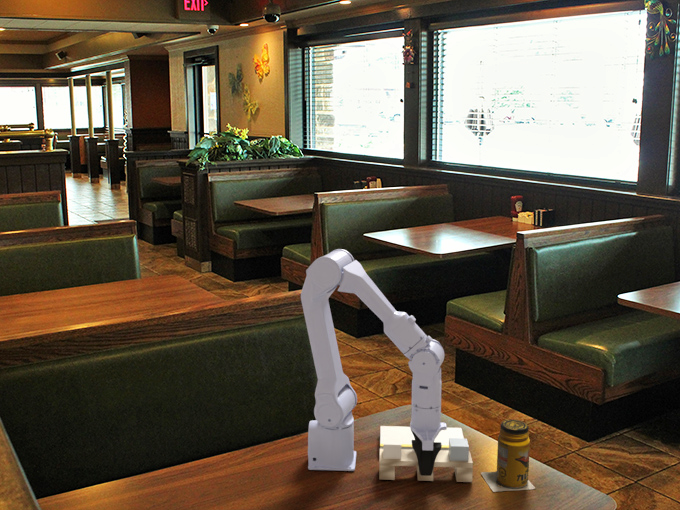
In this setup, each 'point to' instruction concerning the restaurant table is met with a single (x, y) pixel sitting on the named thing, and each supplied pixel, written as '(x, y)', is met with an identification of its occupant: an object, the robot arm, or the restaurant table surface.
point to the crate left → (392, 448)
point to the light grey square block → (458, 449)
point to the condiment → (511, 458)
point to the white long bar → (410, 459)
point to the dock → (408, 437)
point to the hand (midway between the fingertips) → (424, 467)
